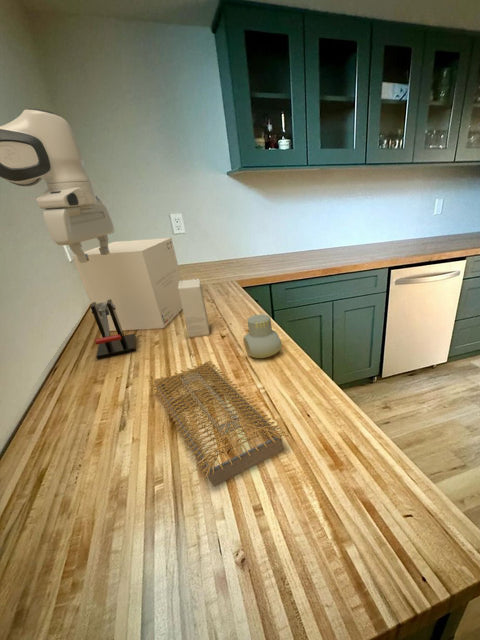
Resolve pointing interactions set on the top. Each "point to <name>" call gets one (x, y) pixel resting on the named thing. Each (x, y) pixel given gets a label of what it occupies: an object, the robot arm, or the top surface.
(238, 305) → the top surface
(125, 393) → the top surface
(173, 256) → the cube
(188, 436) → the rafter model
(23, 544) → the top surface
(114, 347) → the bracket
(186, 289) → the cosmetic box
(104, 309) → the lever
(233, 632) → the top surface
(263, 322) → the air freshener
